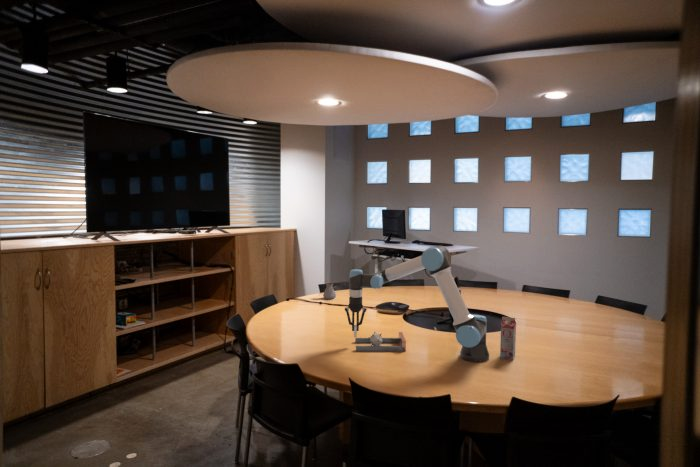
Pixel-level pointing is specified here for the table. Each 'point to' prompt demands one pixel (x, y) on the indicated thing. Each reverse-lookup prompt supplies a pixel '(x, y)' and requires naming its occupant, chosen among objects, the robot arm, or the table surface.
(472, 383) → the table surface
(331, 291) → the coffee pot
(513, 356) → the juice carton
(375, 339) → the spiky grey ball
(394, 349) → the guide channel
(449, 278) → the robot arm
